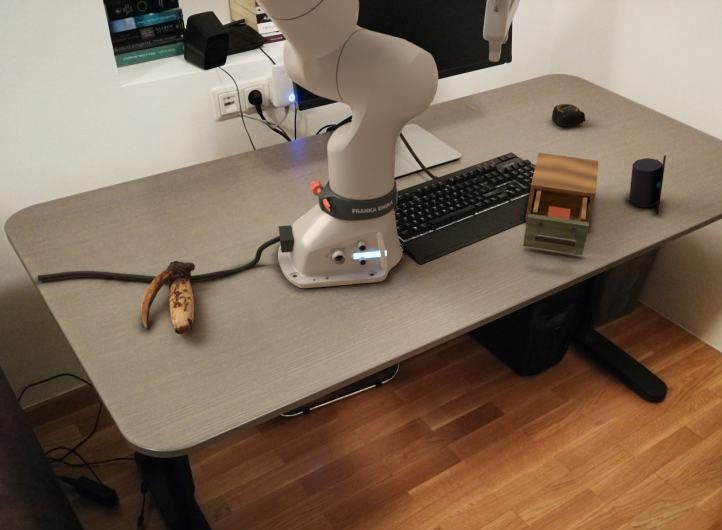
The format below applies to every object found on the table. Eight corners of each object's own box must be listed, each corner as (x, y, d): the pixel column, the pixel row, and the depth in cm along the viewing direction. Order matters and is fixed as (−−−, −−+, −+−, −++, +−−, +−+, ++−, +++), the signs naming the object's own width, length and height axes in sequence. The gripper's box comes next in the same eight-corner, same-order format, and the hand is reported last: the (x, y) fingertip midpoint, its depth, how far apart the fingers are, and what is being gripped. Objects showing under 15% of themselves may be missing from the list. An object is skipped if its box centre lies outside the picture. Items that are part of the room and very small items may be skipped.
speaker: (670, 203, 141) (678, 156, 134) (657, 215, 138) (666, 168, 131) (635, 193, 145) (642, 147, 138) (622, 205, 142) (629, 159, 135)
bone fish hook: (143, 282, 118) (142, 349, 105) (135, 259, 115) (134, 325, 102) (198, 273, 120) (204, 337, 107) (192, 250, 116) (198, 314, 103)
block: (565, 238, 127) (569, 220, 124) (543, 235, 128) (547, 216, 125) (566, 227, 130) (570, 209, 127) (545, 224, 131) (549, 205, 128)
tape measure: (559, 130, 166) (562, 116, 163) (546, 119, 170) (548, 104, 168) (583, 127, 167) (587, 112, 165) (570, 115, 172) (572, 101, 170)
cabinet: (587, 230, 133) (595, 193, 128) (525, 221, 135) (531, 184, 129) (590, 196, 143) (598, 160, 137) (532, 187, 145) (538, 152, 139)
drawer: (580, 271, 121) (587, 241, 117) (519, 261, 123) (524, 231, 119) (585, 220, 134) (592, 191, 130) (530, 211, 136) (534, 183, 132)
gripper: (518, -17, 105) (507, 74, 114) (532, -48, 120) (522, 34, 129) (478, -20, 106) (470, 69, 115) (497, -51, 121) (489, 31, 130)
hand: (498, 51), depth 122 cm, fingers open, 8 cm apart
